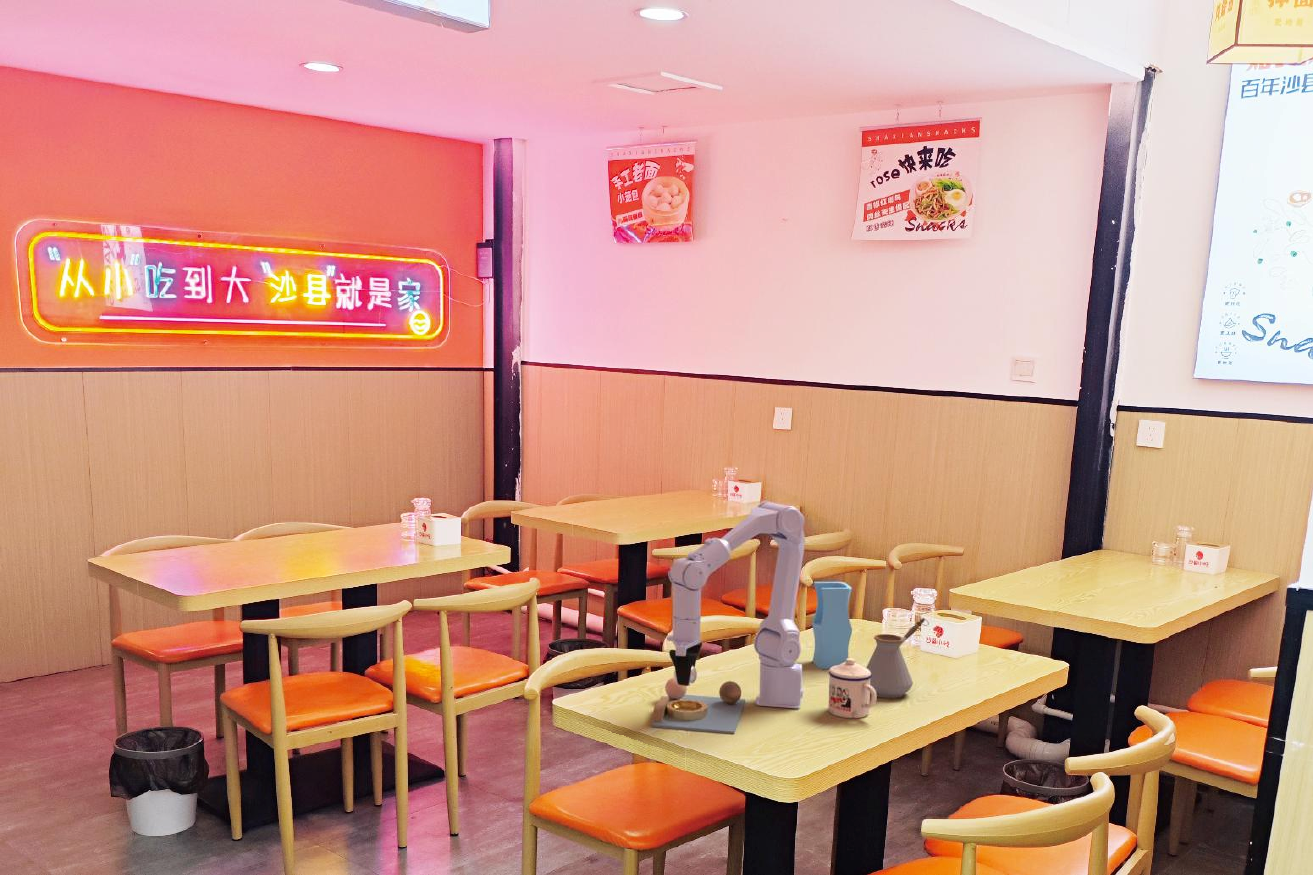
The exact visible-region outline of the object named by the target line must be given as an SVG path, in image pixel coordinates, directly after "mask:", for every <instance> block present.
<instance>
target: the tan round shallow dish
mask: <svg viewBox="0 0 1313 875" xmlns="http://www.w3.org/2000/svg"><path fill="white" fill-rule="evenodd" d="M666 713H667V716H668V717H670V718H672V719H676V720H682V721H695V720H700V719H703V718H705V717H706V716H707V705H706V704H705V703H703V702H701V701H697V700H691V699H679V700H674V701H670V702H669V703H667V704H666Z"/></svg>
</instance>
